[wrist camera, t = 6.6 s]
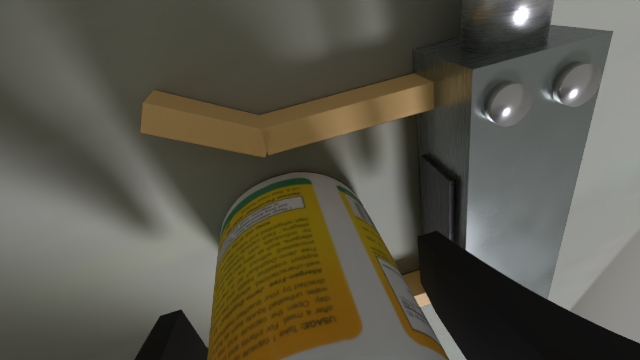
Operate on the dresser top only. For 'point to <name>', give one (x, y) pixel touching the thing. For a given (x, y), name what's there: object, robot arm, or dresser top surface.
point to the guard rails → (290, 123)
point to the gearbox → (507, 133)
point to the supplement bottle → (311, 280)
